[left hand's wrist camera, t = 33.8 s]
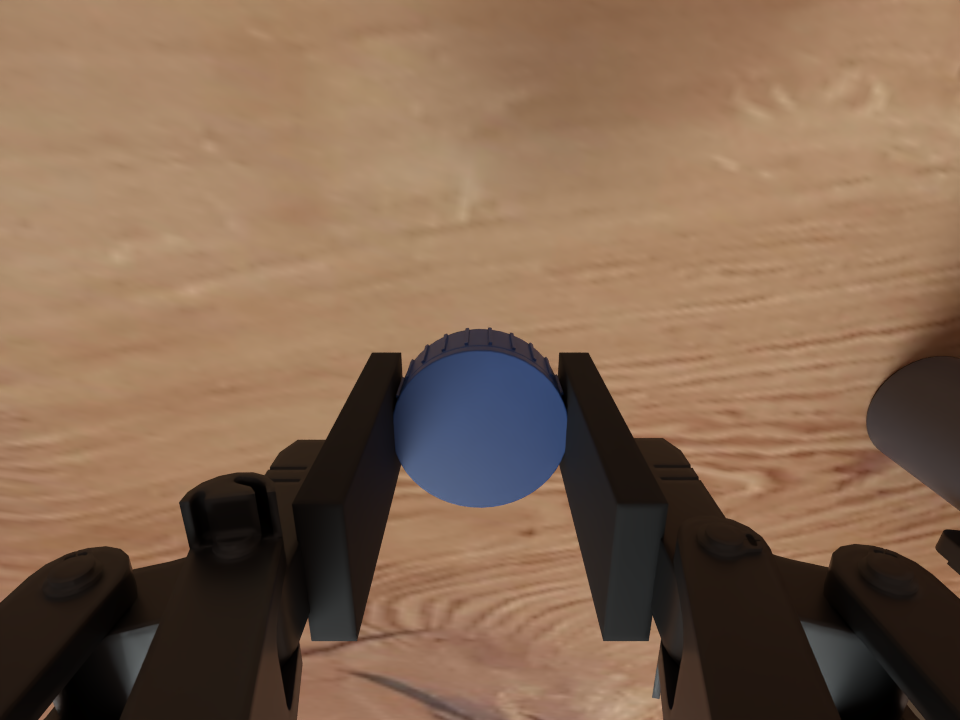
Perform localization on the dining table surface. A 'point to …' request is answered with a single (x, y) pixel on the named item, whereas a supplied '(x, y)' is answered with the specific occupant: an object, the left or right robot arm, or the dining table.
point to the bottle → (922, 423)
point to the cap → (480, 419)
